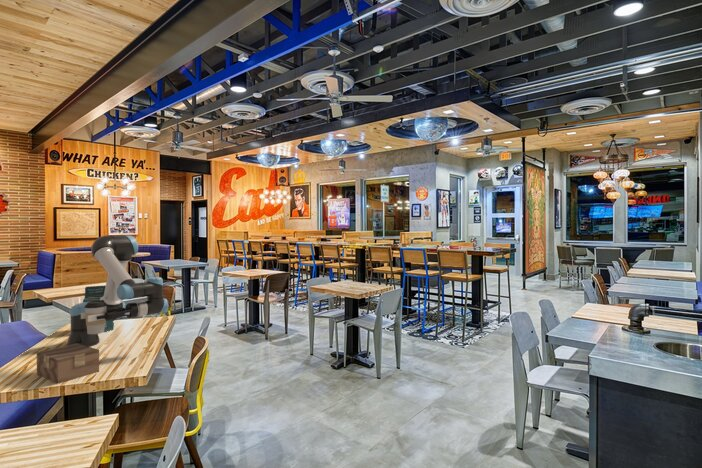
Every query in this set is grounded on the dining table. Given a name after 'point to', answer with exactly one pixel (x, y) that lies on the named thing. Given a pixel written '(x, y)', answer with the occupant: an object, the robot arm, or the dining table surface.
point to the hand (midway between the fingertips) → (84, 317)
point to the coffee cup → (95, 309)
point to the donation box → (94, 295)
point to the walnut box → (67, 362)
